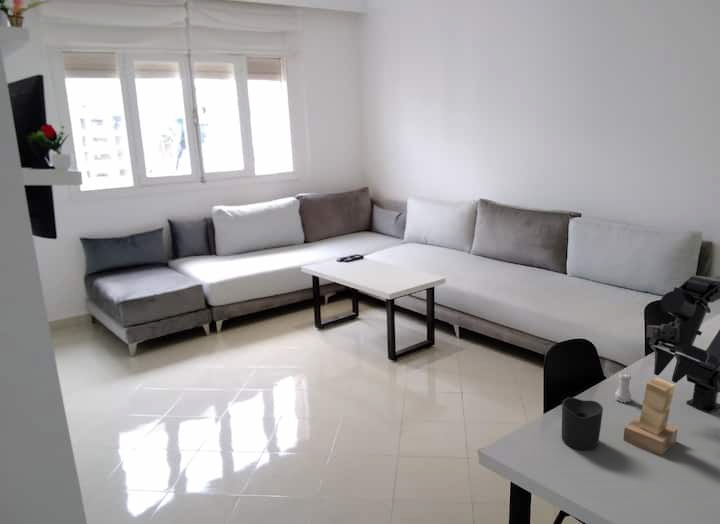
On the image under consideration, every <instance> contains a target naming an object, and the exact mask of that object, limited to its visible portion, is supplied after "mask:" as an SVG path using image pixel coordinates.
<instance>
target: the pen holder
mask: <svg viewBox="0 0 720 524" xmlns="http://www.w3.org/2000/svg"><path fill="white" fill-rule="evenodd" d="M603 412H604V408H603V406H602V404H600V403H599V402H598V401H595V400H583V399H579V398H576V397H574V396H573V397H566V398H565V399H563V400H562V402H561V441H563V442H564V444H565V445H567V446H568V447H570V448H572V449H575V450H580V451H591V450H594V449H595V448H596V447H598V445H599V440H600V433H601V426H602V419H603V418H602V417H603Z"/></svg>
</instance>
